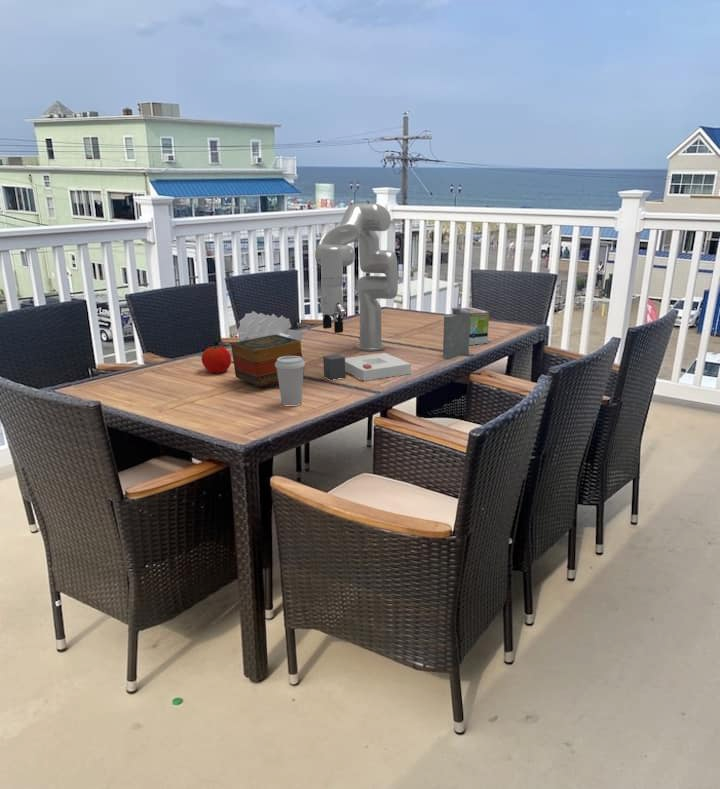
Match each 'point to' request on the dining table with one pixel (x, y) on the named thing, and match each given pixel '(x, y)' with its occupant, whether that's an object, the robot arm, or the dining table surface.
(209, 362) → the tomato
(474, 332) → the tea box
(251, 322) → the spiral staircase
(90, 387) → the dining table surface
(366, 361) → the socket
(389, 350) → the dining table surface
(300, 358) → the coffee cup
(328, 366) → the plug
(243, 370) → the decorative box
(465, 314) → the hip flask
